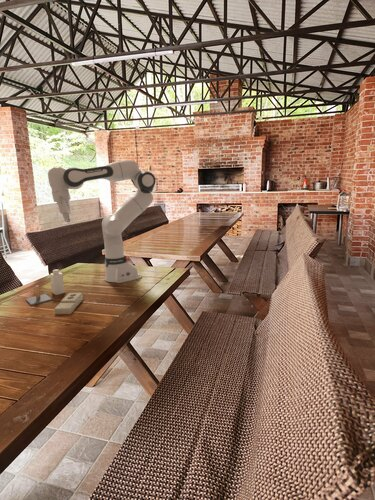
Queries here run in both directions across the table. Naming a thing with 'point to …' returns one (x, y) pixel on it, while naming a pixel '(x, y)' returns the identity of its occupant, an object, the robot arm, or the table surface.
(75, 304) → the electrical outlet
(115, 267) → the robot arm
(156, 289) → the table surface
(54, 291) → the tapered lotion bottle
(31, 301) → the peg stand
